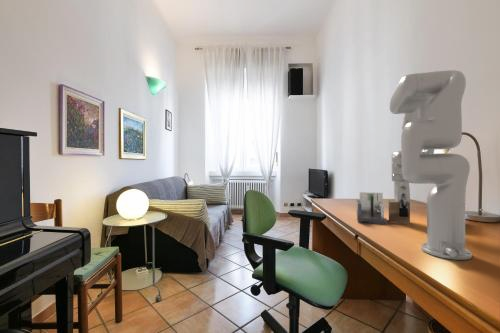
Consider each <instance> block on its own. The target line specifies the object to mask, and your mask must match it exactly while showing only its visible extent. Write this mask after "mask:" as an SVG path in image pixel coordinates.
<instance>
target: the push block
mask: <svg viewBox="0 0 500 333" xmlns="http://www.w3.org/2000/svg"><path fill="white" fill-rule="evenodd" d="M407 206H408V217H400V216H399V208H400V203H398V202H397V201H396V200H395V199H394V200H389V199H388V221H389V223H390V224H402V225H403V224H404V225H410V224H411V202H410V203H408V202H407Z"/></svg>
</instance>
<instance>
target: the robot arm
mask: <svg viewBox="0 0 500 333" xmlns="http://www.w3.org/2000/svg"><path fill="white" fill-rule="evenodd" d="M466 86H467V79H466V76H465V74H464V73H463V72H462V71H460V70H457V69H454V70H448V69H447V70H439V71H438V70H436V71H429V72H428V71H427V72H418V73H416V72H415V73H408V74H406V75H404V76H403V77H401V79H400V80H399V82H398V83H397V85H396V87H395V89H394V91H393V93H392V95H391V97H390V101H389V110H390V113H391V114H394V115H400V114H404V117H403V122H402V126H401V130H402V132H401V140H400V144H401V145H400V147H401V148H400V150H399V151H396V152H395V151H394V152H393V153H391V181H392V182H394V183H393V186H394V187H393V191H394V192H393V193H394V194H393V196H394V201H397V202H398V203H400V208H399V216H400V217H408V206H407V202H408V203H410V204H411V190H410V184H414V185H415V184H421V185H422V184H424V185H425V184H429V185H431V184H432V185H433V186H432V188H431V189H430V190H429V192H428V194H427V197H426V242H424V243H421V247H420V248H421V250H422V251H423V252H424V253H427V254H429V255H432V256H434V257H438V258H442V259H447V260H456V261H457V260H458V261H460V260H461V261H463V260H464V261H466V260H470V259H472V258H473V253H472V252H471V250H469V249H467V248H466V194H467V193H466V192H467V184H468V180H469V175H470V168H471V165H470V162H469V161H468V158H466V157H465V156H464V155H461V154H459V153H451V152H450V153H448V152H447V153H442V152H441V153H435V150H448V149H450V150H451V149H454V148H457V147H458V146H459V145H460V144H461V142H462V137H463V136H462V135H463V125H462V124H463V123H462V122H463V121H462V120H463V119H462V113H463V112H462V101H463V96H464V94H465V91H466Z"/></svg>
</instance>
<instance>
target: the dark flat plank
mask: <svg viewBox="0 0 500 333" xmlns="http://www.w3.org/2000/svg"><path fill="white" fill-rule="evenodd" d="M371 216H372V217H374V208H373V196H371Z"/></svg>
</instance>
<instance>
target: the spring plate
mask: <svg viewBox="0 0 500 333" xmlns="http://www.w3.org/2000/svg"><path fill="white" fill-rule="evenodd" d="M376 212H377V213H379V216H380V218H385V206H384V204H383V205H382V204H381V203H379V209H376Z"/></svg>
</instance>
